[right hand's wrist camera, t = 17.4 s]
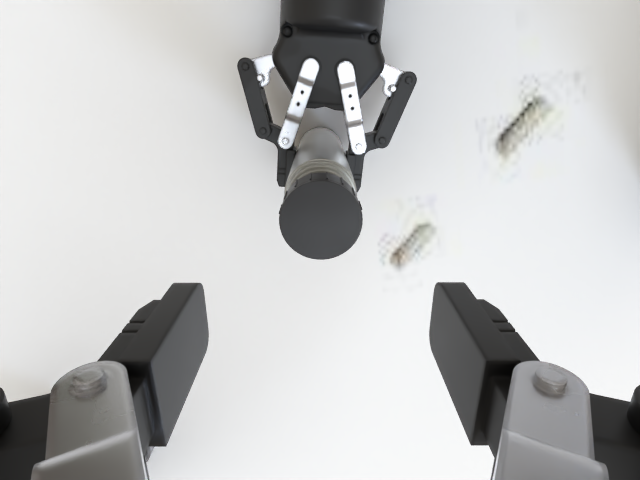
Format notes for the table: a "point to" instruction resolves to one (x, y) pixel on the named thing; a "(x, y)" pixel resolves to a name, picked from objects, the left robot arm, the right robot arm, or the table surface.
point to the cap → (320, 216)
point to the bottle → (320, 157)
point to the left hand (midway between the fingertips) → (318, 193)
